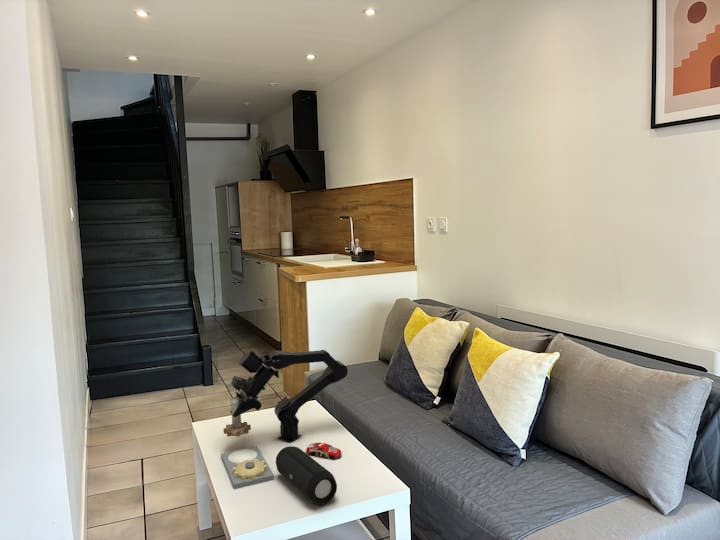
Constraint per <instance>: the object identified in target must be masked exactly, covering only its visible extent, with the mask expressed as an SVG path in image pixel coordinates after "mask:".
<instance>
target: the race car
mask: <svg viewBox="0 0 720 540" xmlns="http://www.w3.org/2000/svg"><path fill="white" fill-rule="evenodd" d="M305 453H306V454H307V455H309V456H310V457H313V456H314V457H315V458H316V457H318V458H321V457H322V459H327V458H328V460H331V459H334V460H337V459H340V458H341V457H342V451H341V449H340V448H338V447H334V446H332V444H329V443H326V442H313V443H310V444H309V445H307V447H306V450H305Z"/></svg>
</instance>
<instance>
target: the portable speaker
mask: <svg viewBox="0 0 720 540" xmlns="http://www.w3.org/2000/svg"><path fill="white" fill-rule="evenodd" d="M275 466H276V469H277V470H276V471H277V472H278V473H279V474H280V475H281V476H282V477H284V479H285V480H287V481H288V483H290V484H291V485H292V486H294V488H296V489H297V490H298V491H299V492H300V493H301V494H302V495H303V496H304V497H306V499H308V500H309V502H311V503H312V504H315V505H326V504H328V503H329V502H331V501H332V500H333V498H334V497H335V496H336V493H337V490H338V484H337V481H336V478H335V477H334V474H333V473H332V472H331V471H329V470H328V469H327V468H325V467H324V466H322V464H320V463H319V462H318V461H316V460H315V459H314V458H312V456H310V455H308V454H307V453H306V451H304V450H302V449H301V448H300V447H297V446H293V445H291V446H285V447H283V448H282V449H280V450H279V452H278V453H277V454H276V457H275Z"/></svg>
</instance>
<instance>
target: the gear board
mask: <svg viewBox="0 0 720 540" xmlns="http://www.w3.org/2000/svg"><path fill="white" fill-rule="evenodd" d="M220 457H221V461H222V463H223V466H224V468H225V470H226V473H227V475H228V477H229V479H230V482H231V484H232V487H233V489H234V490H236V489H240V488H245V487H249V486H253V485H257V484H261V483H265V482H270V481H274V480H275V474H274V473H273V471H272V469H271V467H270V466H269V464H268V462H267V460H266V458H265V457H264V455H263V454H262V451H261V450H260V448H259V447H258V445H255V446H250V447H244V448H239V449H235V450H231V451H226V452H221V453H220Z"/></svg>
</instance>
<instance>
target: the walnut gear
mask: <svg viewBox="0 0 720 540" xmlns="http://www.w3.org/2000/svg"><path fill="white" fill-rule="evenodd" d="M239 404H240V399H239V397H236V396H234V397H231V398H230V412H231V413H232V414H231V413H230V414H231V424H230V423H229V424H226V425H225V428H223V434H224V435H225V434H226V437H228V438H230V437H237V438H239V437H241V436H242V435H248V434H249V432H250V431H251V430H252V428H251V426H252V425H251V424H248V422H247V421H244V422H242V414H240V415H238V416H237V417H233V414H234V412H235V410H236V409H237V407H238V405H239Z"/></svg>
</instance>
